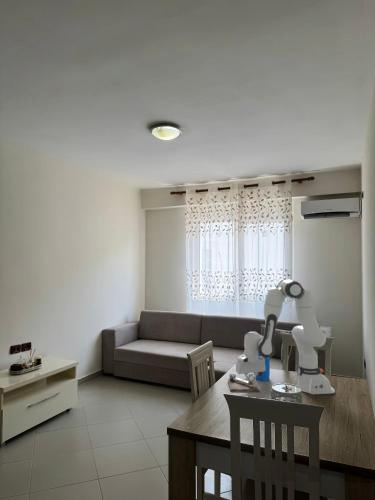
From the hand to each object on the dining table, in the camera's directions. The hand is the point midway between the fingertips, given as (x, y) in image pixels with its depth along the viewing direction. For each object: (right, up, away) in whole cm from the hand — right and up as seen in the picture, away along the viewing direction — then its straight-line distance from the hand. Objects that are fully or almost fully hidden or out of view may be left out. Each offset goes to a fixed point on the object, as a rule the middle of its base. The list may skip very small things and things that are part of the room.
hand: (250, 379), depth 220 cm
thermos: (+11, -7, +19) cm, 23 cm away
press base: (-4, -6, +4) cm, 8 cm away
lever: (-5, -4, +5) cm, 9 cm away
